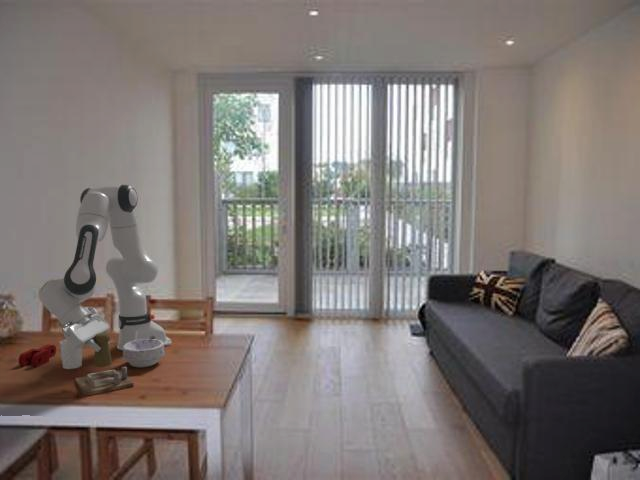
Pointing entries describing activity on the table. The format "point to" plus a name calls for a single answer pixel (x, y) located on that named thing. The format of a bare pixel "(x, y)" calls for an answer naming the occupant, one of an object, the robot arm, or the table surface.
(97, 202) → the robot arm
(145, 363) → the paper bowls
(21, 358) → the mechanical linkage
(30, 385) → the table surface
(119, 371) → the peg board
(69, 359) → the white cup
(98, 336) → the olive brown peg
